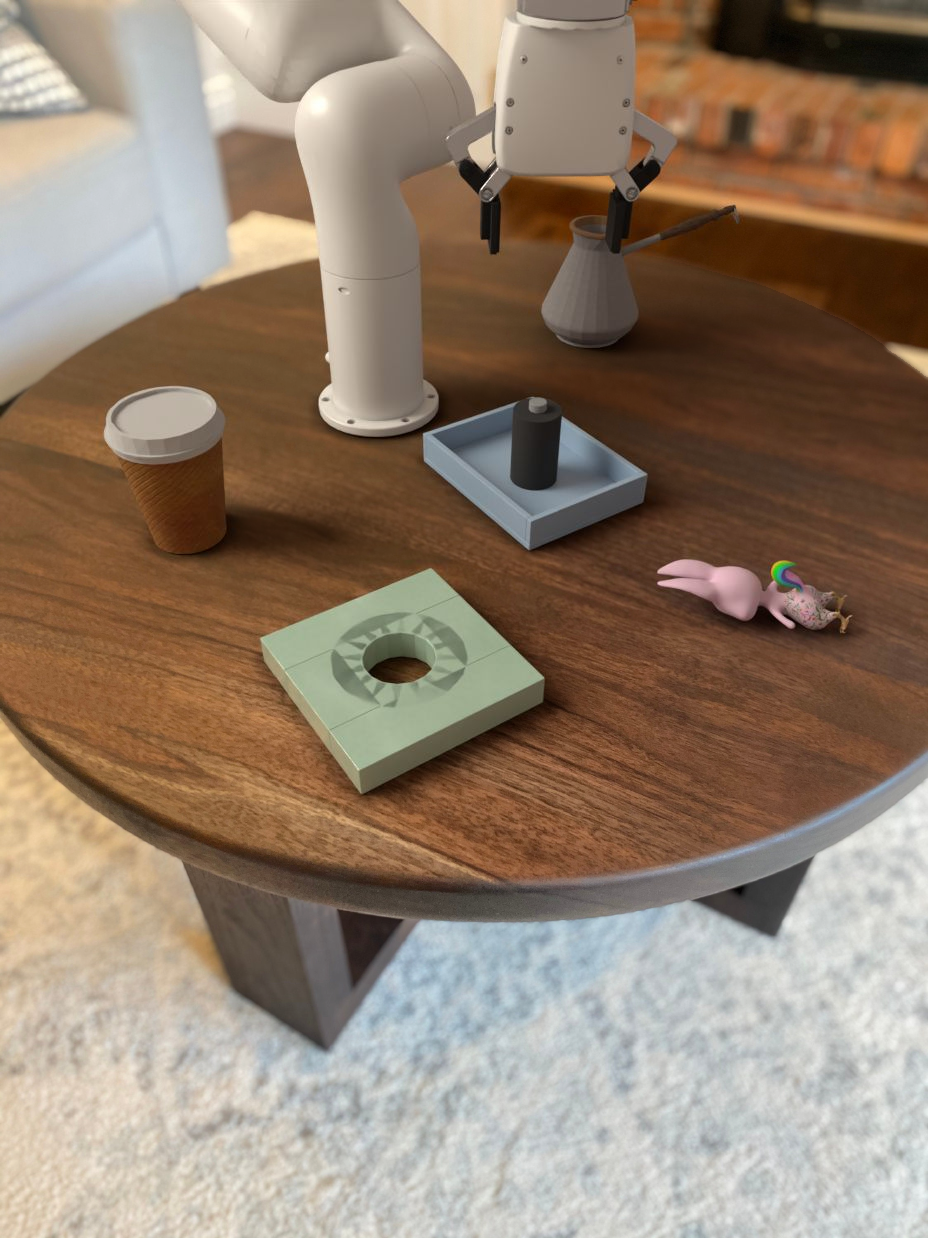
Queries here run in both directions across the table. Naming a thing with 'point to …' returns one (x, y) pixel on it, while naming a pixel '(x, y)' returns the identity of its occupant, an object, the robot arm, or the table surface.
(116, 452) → the disposable coffee cup
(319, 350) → the table surface
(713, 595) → the rabbit figure
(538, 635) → the table surface
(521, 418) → the plug
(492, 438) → the tray
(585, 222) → the coffee pot
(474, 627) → the drain plate
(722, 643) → the table surface
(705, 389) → the table surface
